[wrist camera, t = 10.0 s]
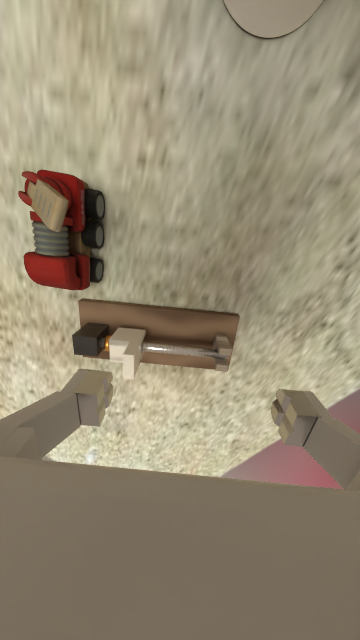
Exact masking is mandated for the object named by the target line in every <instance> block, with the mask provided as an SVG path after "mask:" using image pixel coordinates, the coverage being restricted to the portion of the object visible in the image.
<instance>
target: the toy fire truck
mask: <svg viewBox="0 0 360 640" xmlns="http://www.w3.org/2000/svg"><path fill="white" fill-rule="evenodd" d="M22 176H23V177H25V178H27V180H26V182H25V192H22V191H19V193H18V194H19V197H20V198H21V199H22V201H23V202H25V203H26V204H27V205H29V206H31V207H32V208H33V210H34V211H35V212H33V211H30V218H31V220H33V223H32V226H33V227H34V229H33V233H34V234H35V236H34V240H35V241H36V242H35V246H36V247H37V248H36V249H35V252H28V253H25V255H24V265H25V269H26V271H27V273H28V275H29V277H30V278H31V279H32V280H33V281H34V282H36V283H37V284H40V285H43V286H50V287H56V288H62V289H68V290H83V289H86V288H88V287H89V286H90V281H91V282H97V283H99V282H100V281H101V279H102V276H103V270H104V269H103V263H102V260H101V259H97V258H90V247H91V248H96V249H100V248H101V247H102V245H103V242H104V230H103V226H102V224H101V223H99V222H93V221H90V218H92V219H97V220H101V219H102V218H103V217H104V213H105V201H104V197H103V194H102V192H100V191H98V190H92V189H89V187H88V185H87V183H85V182H84V181H82V180H80V179H78V178H77V177H75V176H73V175H69V174H64V173H59V172H53V171H47V170H39V171H38V172H37V174H36V173H33V172H29V171H26V172H22Z"/></svg>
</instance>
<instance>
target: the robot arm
mask: <svg viewBox="0 0 360 640" xmlns="http://www.w3.org/2000/svg"><path fill="white" fill-rule="evenodd" d="M322 2H323V0H224V3H225V5H226V7H227V9H228V11H229V13H230V14H231V16H232V17H233V18H234V20H235V21H236V22H237V23H238V24H239V25H240V26H241V27H242V28H243V29H244V30H246V31H247V32H249V33H251V34H253V35H256V36H259V37H264V38H273V37H279V36H283V35H285V34H288V33H290V32H292V31H294V30H295V29H297V28H298V27H300V26H301V25H302V24H303V23H305V22H306V21H307V20H308V19H309V18H310V17H311V16H312V15H313V14H314V12H315V11H316V10H317V9H318V7H319V6H320V5H321V3H322ZM112 379H113V376H112V373H111V372H106V371H98V370H89V369H79V370H78V371H77V372H76V373H75V374H74V376H73V377H72V378H71V379H70V381H69V382H68V383H67V384H66V385H65V387H64V388H63V389H62V390H61V392H55V393H53V394H51V395H49V396H47V397H45V398H43V399H41V400H39V401H37V402H35V403H33V404H31V405H29V406H27V407H25V408H23V409H21V410H19V411H17V412H15V413H13V414H11V415H9V416H7V417H5V418H3V419H1V420H0V640H360V434H359V433H357V432H356V431H354V430H353V429H351V428H350V427H348V426H347V425H345V424H344V423H342V422H340V421H339V420H338V419H333V417H332V416H331V415H330V414H329V412H328V411H327V410H326V408H325V407H324V406H323V405H322V403H321V402H320V401H319V400H318V398H317V397H316V396H315V395H314V393H312V392H311V391H296V390H286V389H278V390H277V392H276V397H277V399H276V400H275V401H274V402H273V403H272V406H271V415H272V419H273V421H274V423H275V424H277V425H278V426H279V430H278V432H279V434H280V436H281V438H282V440H283V443H284V444H285V445H293V446H301V447H303V448H304V449H305V450H306V451H307V452H308V453H309V454H310V455H311V456H312V457H313V458H314V459H315V460H316V461H317V462H318V463H319V464H320V465H321V466H322V467H323V468H324V469H325V470H326V471H327V472H328V473H329V474H330V475H331V476H332V477H333V478H334V479H335V480H336V481H337V482H338V483H339V484H340V485H341V486H342V488H343V489H344V490H342V489H333V488H323V487H312V486H302V485H292V484H281V483H270V482H261V481H250V480H239V479H229V478H219V477H209V476H199V475H189V474H179V473H168V472H158V471H148V470H138V469H127V468H117V467H107V466H97V465H86V464H76V463H66V462H55V461H45V460H42V458H43V457H44V456H45V455H46V454H47V453H49V452H50V451H51V450H52V449H53V448H55V447H56V446H57V445H58V444H59V443H61V442H62V441H63V440H64V439H66V438H67V437H68V436H69V435H70V434H72V433H73V432H74V431H75V430H76V429H78V428H79V427H80V425H89V426H100V425H101V422H102V420H103V418H104V416H105V409H106V408H107V407H109V405H110V403H111V400H112V396H113V386H112V384H111V381H112Z"/></svg>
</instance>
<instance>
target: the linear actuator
mask: <svg viewBox="0 0 360 640" xmlns="http://www.w3.org/2000/svg"><path fill="white" fill-rule="evenodd" d="M78 302H79V314H80V325H81V328H82V327H83V326H84V325H86V324H87V323H98V324H108V325H109V335H113V334H114V333H115V331H116V330H117V329H118V328H119V327H120V328H130V329H140V330H146V333H145V337H144V339H143V342H149V343H159V344H169V345H180V346H190V347H200V348H211V349H217V350H218V353H219V355H228V359H220V358H209V357H199V356H189V355H178V354H168V353H157V352H147V351H144V353H143V356H142V359H141V361H140V362H142V363H153V364H163V365H174V366H184V367H194V368H205V369H215V370H216V371H225V372H227V371H228V368H229V364H230V359H231V354H232V350H233V345H234V340H235V336H236V331H237V326H238V322H239V317H240V316H239V315H238V314H233V313H223V312H213V311H203V310H193V309H182V308H172V307H162V306H152V305H142V304H132V303H122V302H112V301H102V300H91V299H81V300H79V301H78ZM83 357H90V358H101V359H110V351H105V350H104V349H103V350H102V351H101V353H100V354H99V355H98V357H97V356H86V355H83Z"/></svg>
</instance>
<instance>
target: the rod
mask: <svg viewBox="0 0 360 640" xmlns="http://www.w3.org/2000/svg"><path fill="white" fill-rule="evenodd" d="M111 336H112V335H109V325H108V324H98V323H87V324H86V325H84V326H83V327H82V328H81V329H80V330H78V331H77V332H76V333H75V334H73V335H72V338H73V347H74V354H76V355H86V356H97V357H98V355H99V354H100V353H101V351H102V350H103V349H104V350H105V351H110V350H109V339H110V338H111ZM141 351H147V352H157V353H168V354H178V355H189V356H199V357H209V358H220V359H228V355H219V353H218V350H217V349H211V348H200V347H190V346H180V345H169V344H159V343H149V342H142V345H141Z"/></svg>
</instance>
